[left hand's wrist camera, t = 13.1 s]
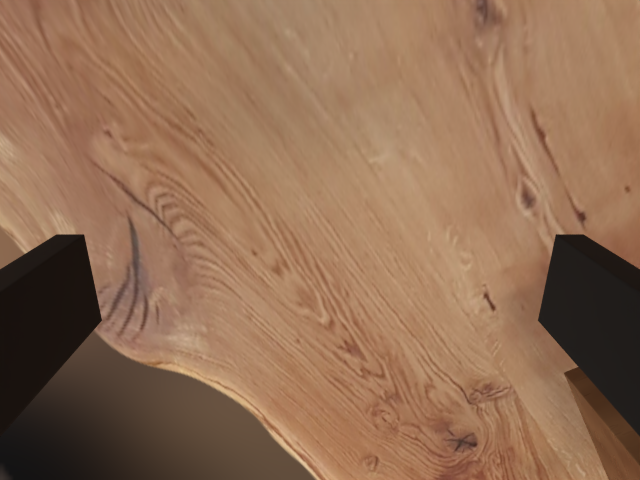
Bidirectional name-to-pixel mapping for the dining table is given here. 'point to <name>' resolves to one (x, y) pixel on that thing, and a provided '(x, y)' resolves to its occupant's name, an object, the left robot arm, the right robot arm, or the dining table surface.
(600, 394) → the box
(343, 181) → the dining table surface
